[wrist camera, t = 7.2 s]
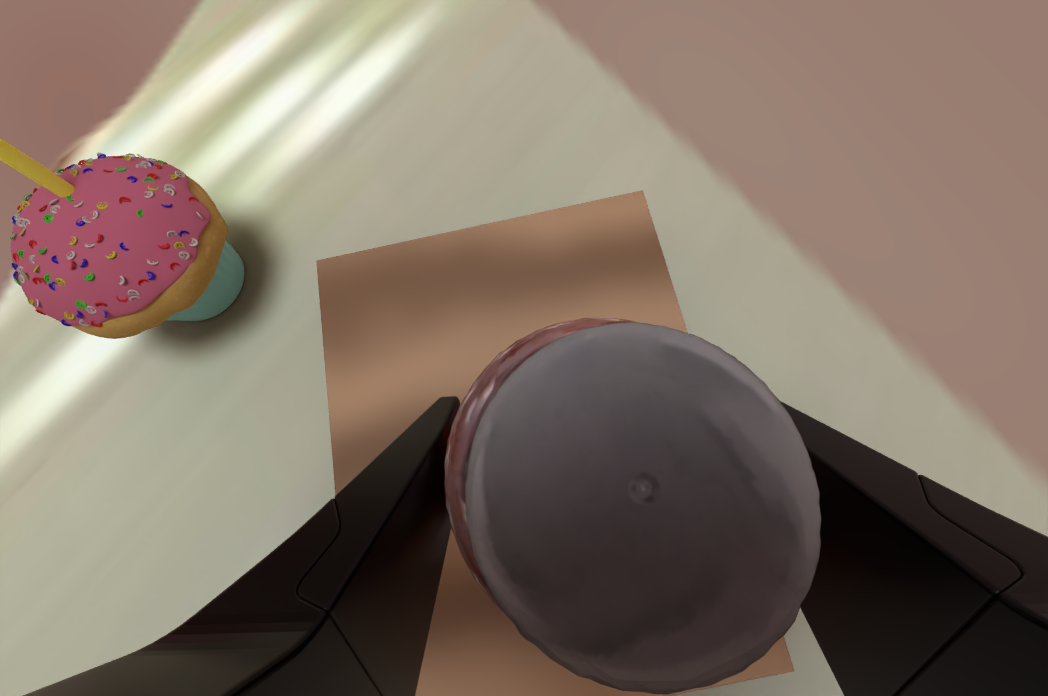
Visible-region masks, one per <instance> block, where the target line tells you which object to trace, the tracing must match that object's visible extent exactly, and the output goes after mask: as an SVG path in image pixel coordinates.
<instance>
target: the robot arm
mask: <svg viewBox="0 0 1048 696" xmlns="http://www.w3.org/2000/svg"><path fill="white" fill-rule="evenodd" d="M780 402H781V401H780ZM781 403H782V405H783V406H784V408H785V409H786V410H787V412H788V413H789V415H790V416H791V418H792V420H793V422H794V424H795V426H796V428H797V429H798V431H799V433H800V435H801V437H802V440H803V442H804V445H805V447H806V449H807V451H808V454H809V457H810V460H811V464H812V468H813V470H814V473H815V476H816V481H817V485H818V489H819V505H820V513H821V526H820V539H821V547H820V554H819V560H818V564H817V567H816V571H815V574H814V577H813V580H812V583H811V586H810V589H809V591H808V593H807V595H806V597H805V599H804V600H803V602H802V603H801V605H800V608H801V610H802V612H803V614H804V616H805V618H806V620H807V622H808V624H809V626H810V628H811V630H812V632H813V634H814V636H815V638H816V640H817V642H818V644H819V646H820V648H821V650H822V652H823V654H824V656H825V658H826V660H827V662H828V664H829V666H830V668H831V670H832V672H833V674H834V676H835V678H836V680H837V682H838V684H839V686H840V688H841V690H842V692H843V694H844V696H1048V537H1047V536H1045V535H1043V534H1041V533H1039V532H1036V531H1034V530H1032V529H1030V528H1028V527H1026V526H1024V525H1022V524H1019V523H1017V522H1015V521H1013V520H1011V519H1009V518H1007V517H1005V516H1003V515H1001V514H998V513H996V512H994V511H992V510H990V509H988V508H986V507H984V506H982V505H980V504H978V503H976V502H974V501H972V500H970V499H968V498H966V497H964V496H962V495H960V494H958V493H956V492H954V491H952V490H950V489H948V488H946V487H944V486H942V485H941V484H939V483H937V482H935V481H933V480H931V479H929V478H927V477H925V476H923V475H918V474H917V472H915V471H914V470H912V469H910V468H908V467H906V466H904V465H902V464H900V463H898V462H896V461H894V460H892V459H890V458H889V457H887V456H885V455H883V454H881V453H879V452H877V451H875V450H873V449H871V448H869V447H867V446H866V445H864V444H862V443H860V442H858V441H856V440H854V439H852V438H850V437H848V436H846V435H844V434H842V433H841V432H839V431H837V430H835V429H833V428H831V427H829V426H827V425H825V424H823V423H821V422H819V421H817V420H816V419H814V418H812V417H810V416H808V415H806V414H804V413H802V412H800V411H798V410H796V409H794V408H792V407H791V406H789V405H787V404H785V403H783V402H781ZM459 407H460V401H459V398H458V397H457V396H446V397H440V398H439V399H438V400H437V401H435V402H434V403H433V404H432V405H431V406H430V407H429V408H428V409H427V410H426V411H425V412H424V413H423V414H422V415H421V416H419V417H418V418H417V419H416V420H415V421H414V422H413V423H412V424H411V425H410V426H409V427H408V428H407V429H406V430H405V431H404V432H402V433H401V434H400V435H399V436H398V437H397V438H396V439H395V440H394V441H393V442H392V443H391V444H390V445H389V446H388V447H386V448H385V449H384V450H383V451H382V452H381V453H380V454H379V455H378V456H377V457H376V458H375V459H374V460H373V461H372V462H371V463H369V464H368V465H367V466H366V467H365V468H364V469H363V470H362V471H361V472H360V473H359V474H358V475H357V476H356V477H355V478H353V479H352V480H351V481H350V482H349V483H348V484H347V485H346V486H345V487H344V488H343V489H342V490H341V491H340V492H339V493H338V494H336V495H335V499H331V500H330V501H329V502H328V503H327V504H326V505H325V506H324V507H322V508H321V509H320V510H319V511H318V512H317V513H316V514H315V515H314V516H313V517H312V518H310V519H309V520H308V521H307V522H306V523H305V524H304V525H303V526H302V527H300V528H299V529H298V530H297V531H296V532H295V533H294V534H293V535H291V536H290V537H289V538H288V539H287V540H285V541H284V542H283V543H282V544H281V545H279V546H278V547H277V548H276V549H275V550H274V551H272V552H271V553H270V554H269V555H268V556H266V557H265V558H264V559H263V560H261V561H260V562H259V563H258V564H256V565H255V566H254V567H253V568H252V569H250V570H249V571H248V572H247V573H245V574H244V575H243V576H242V577H240V578H239V579H238V580H237V581H235V582H234V583H233V584H232V585H231V586H229V587H228V588H227V589H226V590H224V591H223V592H222V593H221V594H219V595H218V596H217V597H216V598H215V599H213V600H212V601H211V602H210V603H208V604H207V605H206V606H205V607H203V608H202V609H201V610H200V611H198V612H197V613H196V614H195V615H193V616H192V617H191V618H190V619H188V620H187V621H186V622H184V623H183V624H182V625H180V626H179V627H177V628H176V629H174V630H173V631H171V632H170V633H168V634H167V635H165V636H164V637H162V638H160V639H158V640H157V641H155V642H153V643H152V644H150V645H147V646H145V647H143V648H141V649H139V650H137V651H135V652H133V653H131V654H128V655H126V656H123V657H121V658H118V659H116V660H113V661H111V662H108V663H105V664H103V665H100V666H98V667H95V668H93V669H90V670H88V671H85V672H82V673H80V674H77V675H75V676H72V677H70V678H67V679H64V680H62V681H59V682H57V683H54V684H52V685H49V686H46V687H44V688H41V689H39V690H36V691H34V692H31V693H28V694H26V695H23V696H415V694H416V690H417V685H418V680H419V676H420V671H421V666H422V662H423V657H424V652H425V648H426V643H427V638H428V634H429V629H430V624H431V620H432V615H433V611H434V606H435V601H436V597H437V592H438V587H439V583H440V578H441V573H442V569H443V564H444V559H445V555H446V550H447V545H448V541H449V536H450V531H451V526H450V522H449V513H448V510H447V508H446V498H445V457H446V450H447V442H448V438H449V435H450V432H451V427H452V424H453V421H454V418H455V416H456V414H457V412H458V410H459Z"/></svg>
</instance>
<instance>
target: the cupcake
mask: <svg viewBox="0 0 1048 696" xmlns="http://www.w3.org/2000/svg"><path fill="white" fill-rule="evenodd" d="M129 155H132V156H129ZM137 155H138V154H137ZM97 156H98V159H94V160H93V159H92V158H91V159H88V160H81V161H80V162H79V163H78V165H75V164H73V165H71V166H69V167H67V168H65V169H59V170H58V171H57V172H55V174H54V173H53V172H51V171H50V170H48V169H47V168H45V167H44V166H42V165H41V164H39V163H38V162H36V161H35V160H33V159H32V158H30V157H28V156H27V155H25V154H24V153H22V152H21V151H19V150H18V149H16V148H14V147H13V146H11V145H10V144H9V143H7V142H6V141H4V140H2V139H1V138H0V160H1V161H3V162H4V163H6V164H7V165H9V166H10V167H12V168H14V169H15V170H17V171H19V172H20V173H22V174H23V175H25V176H27V177H28V178H30V179H32V180H33V181H35V182H36V183H38V184H40V185H41V187H40V188H39V189H38V190H37V188H35V189H34V190H33V194H27V195H26V196H25V197H24V200H25V202H22V203H21V205H20V206H18V208H17V209H18V212H17V214H16V215H15V216H13V217H12V220H11V222H13V223H14V228H13V232H12V236H11V238H10V239H11V253H12V259H13V263H12V266H13V268H14V269H15V270H16V272H14V274H13V277H14V278H15V282H16V283H18V284H19V285H20V286H21V287H22V289H23V291H24V293H25V295H26V297H27V298H28V302H29V303H30V304H32V305H33V306H34V307H35V308H36V311H37V312H38V313H41V314H44V315H48V316H50V317H52V318H54V319H56V320H58V321H60V322H61V323H62V324H63V325H65V326H73V327H75V328H77V329H79V330H81V331H83V332H86V333H88V334H91V335H95V336H99V337H104V338H113V339H116V338H125V337H130V336H134V335H137V334H139V333H141V332H143V331H145V330H148V329H150V328H153V327H155V326H157V325H159V324H161V323H162V322H164V321H165V320H181V321H201V320H206V319H209V318H212V317H214V316H216V315H218V314H220V313H222V312H223V311H224V310H226V309H227V308H228V307H229V306H230V305H231V304H232V303H233V302H234V301H235V299H236V298H237V296H238V295H239V293H240V291H241V288H242V286H243V282H244V275H245V273H244V265H243V262H242V260H241V258H240V256H239V254H238V253H237V252H236V251H235V250H234V248H233V247H232V246H231V245H230V244H229V243H228V241H227V240H226V237H227V226H226V224H225V222H224V220H223V218H222V217H221V215H220V213H219V212H218V210H217V208H216V206H215V204H214V203H213V201H212V200H211V198H210V197H209V195H208V194H207V193H206V192H205V190H204V189H203V188H202V187H201V186H200V185H199V184H197V183H196V182H195V181H194V180H192V179H191V178H189V177H188V176H186V174H185V173H183V172H182V171H180V170H179V169H177V168H175V167H173V166H171V165H169V164H167V163H166V162H163V161H160V160H158V161H157V160H156V159H150V158H149V159H147V158H144V157H142V156H140V155H138V156H139V157H135V155H134V154H126V155H125V156H108V157H106V155H105V154H102V153H97ZM102 156H103V157H102ZM140 157H141V158H140ZM84 162H85V163H84ZM81 163H82V164H81ZM60 171H63V172H60ZM56 174H57V175H56ZM40 311H41V312H40Z"/></svg>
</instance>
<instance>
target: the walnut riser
mask: <svg viewBox="0 0 1048 696" xmlns="http://www.w3.org/2000/svg"><path fill="white" fill-rule="evenodd" d="M317 272H318V285H319V297H320V309H321V321H322V334H323V346H324V358H325V370H326V383H327V395H328V407H329V419H330V432H331V444H332V456H333V468H334V480H335V493H336V494H338V493H339V492H340V491H341V490H342V489H343V488H344V487H345V486H346V485H347V484H348V483H349V482H350V481H351V480H352V479H353V478H355V477H356V476H357V475H358V474H359V473H360V472H361V471H362V470H363V469H364V468H365V467H366V466H367V465H368V464H369V463H371V462H372V461H373V460H374V459H375V458H376V457H377V456H378V455H379V454H380V453H381V452H382V451H383V450H384V449H385V448H386V447H388V446H389V445H390V444H391V443H392V442H393V441H394V440H395V439H396V438H397V437H398V436H399V435H400V434H401V433H402V432H404V431H405V430H406V429H407V428H408V427H409V426H410V425H411V424H412V423H413V422H414V421H415V420H416V419H417V418H418V417H419V416H421V415H422V414H423V413H424V412H425V411H426V410H427V409H428V408H429V407H430V406H431V405H432V404H433V403H434V402H435V401H437V400H438V399H439V398H440V397H446V396H457V397H458V398H459V401H460V405H461V403H462V401H463V399H464V398H465V396H466V394H467V393H468V391H469V389H470V388H471V386H472V384H473V383H474V382H475V381H476V379H477V378H478V376H479V375H480V374H481V373H482V372H483V371H484V369H485V368H486V367H487V366H488V365H489V364H490V363H491V362H492V361H493V360H494V358H495V357H496V356H497V355H498V354H499V353H500V352H502V351H504V350H506V349H507V348H508V347H509V346H510V345H512V344H513V343H514V342H515V341H517V340H519V339H521V338H523V337H525V336H527V335H529V334H531V333H533V332H535V331H536V330H538V329H542V328H544V327H546V326H550V325H553V324H556V323H562V322H565V321H569V320H576V319H582V318H598V317H610V318H617V319H625V320H631V321H636V322H638V323H647V324H652V325H660V326H666V327H669V328H672V329H676V330H680V331H683V332H685V333H688V332H687V329H686V326H685V323H684V320H683V316H682V313H681V310H680V307H679V304H678V301H677V297H676V294H675V291H674V288H673V285H672V281H671V278H670V275H669V272H668V269H667V266H666V262H665V259H664V256H663V253H662V250H661V247H660V243H659V240H658V237H657V234H656V231H655V228H654V224H653V221H652V218H651V215H650V212H649V209H648V205H647V202H646V199H645V196H644V193H643V190H642V191H638V192H633V193H628V194H624V195H619V196H614V197H610V198H605V199H600V200H596V201H591V202H587V203H582V204H577V205H573V206H568V207H563V208H559V209H554V210H549V211H545V212H540V213H535V214H531V215H526V216H522V217H517V218H512V219H508V220H503V221H498V222H494V223H489V224H484V225H480V226H475V227H471V228H466V229H461V230H457V231H452V232H447V233H443V234H438V235H433V236H429V237H424V238H420V239H415V240H410V241H406V242H401V243H396V244H392V245H387V246H382V247H378V248H373V249H369V250H364V251H359V252H355V253H350V254H345V255H341V256H336V257H331V258H327V259H322V260H318V261H317ZM791 671H794V668H793V665H792V662H791V659H790V656H789V652H788V649H787V646H786V643H785V640H784V637H782V638H780V639H779V640H778V641H777V642H776V643H775V644H774V645H773V646H772V647H771V648H770V650H769V651H768V652H767V653H766V654H765V656H764V657H762V658H760V659H759V660H757V661H756V662H754V663H752V664H751V665H750V666H749V667H748V668H747V669H746V670H744V671H743V672H740V673H738V674H736V675H734V676H731V677H729V678H726V679H724V680H722V681H719V682H717V683H715V684H713V685H710V686H707V687H701V688H695V689H691V690H686V691H682V692H677V693H672V694H651V693H645V692H632V691H621V690H618V689H615V688H611V687H608V686H605V685H602V684H599V683H597V682H595V681H593V680H591V679H587V678H583V677H579V676H577V675H576V674H574V673H572V672H571V671H569V670H567V669H566V668H564V667H563V666H561V665H560V664H558V663H556V662H555V661H553V660H552V659H550V658H549V657H548V656H547V655H546V654H544V653H543V652H542V651H541V650H540V649H539V648H538V647H537V646H536V645H535V644H533V643H531V642H529V641H528V640H526V639H525V638H524V637H523V636H522V635H521V634H520V633H519V631H518V629H517V627H516V625H515V624H514V623H513V622H512V621H511V620H510V619H509V617H508V616H506V615H505V614H504V613H503V612H502V611H501V610H500V609H499V608H497V606H496V605H495V604H494V603H493V602H492V601H491V599H490V598H489V597H488V596H487V595H486V594H485V593H484V592H483V590H482V589H481V587H480V585H479V584H478V583H477V582H476V580H475V579H474V578H473V575H472V573H471V571H470V570H469V568H468V566H467V565H466V563H465V561H464V559H463V557H462V555H461V552H460V550H459V547H458V544H457V542H456V539H455V536H454V534H453V532H452V529H451V531H450V536H449V541H448V545H447V550H446V555H445V559H444V564H443V569H442V573H441V578H440V583H439V587H438V592H437V597H436V601H435V606H434V611H433V615H432V620H431V624H430V629H429V634H428V638H427V643H426V648H425V652H424V657H423V662H422V666H421V671H420V676H419V680H418V685H417V690H416V694H415V696H672V695H677V694H682V693H687V692H692V691H697V690H702V689H707V688H711V687H716V686H721V685H726V684H731V683H736V682H741V681H746V680H751V679H756V678H761V677H766V676H771V675H776V674H781V673H786V672H791Z"/></svg>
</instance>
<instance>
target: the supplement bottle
mask: <svg viewBox="0 0 1048 696" xmlns="http://www.w3.org/2000/svg"><path fill="white" fill-rule="evenodd" d="M445 498H446V508H447V510H448V513H449V522H450V526H451V529H452V532H453V534H454V536H455V539H456V542H457V544H458V547H459V550H460V552H461V555H462V557H463V559H464V561H465V563H466V565H467V566H468V568H469V570H470V571H471V573H472V575H473V578H474V579H475V580H476V582H477V583H478V584H479V585H480V587H481V589H482V590H483V592H484V593H485V594H486V595H487V596H488V597H489V598H490V599H491V601H492V602H493V603H494V604H495V605H496V606H497V608H499V609H500V610H501V611H502V612H503V613H504V614H505V615H506V616H508V617H509V619H510V620H511V621H512V622H513V623H514V624H515V625H516V627H517V629H518V631H519V633H520V634H521V635H522V636H523V637H524V638H525V639H526V640H528V641H529V642H531V643H533V644H535V645H536V646H537V647H538V648H539V649H540V650H541V651H542V652H543V653H544V654H546V655H547V656H548V657H549V658H550V659H552V660H553V661H555V662H556V663H558V664H560V665H561V666H563V667H564V668H566V669H567V670H569V671H571V672H572V673H574V674H576V675H577V676H579V677H583V678H587V679H591V680H593V681H595V682H597V683H599V684H602V685H605V686H608V687H611V688H615V689H618V690H621V691H632V692H645V693H651V694H672V693H677V692H682V691H686V690H691V689H695V688H701V687H707V686H710V685H713V684H715V683H717V682H719V681H722V680H724V679H726V678H729V677H731V676H734V675H736V674H738V673H740V672H743V671H744V670H746V669H747V668H748V667H749V666H750V665H751V664H752V663H754V662H756V661H757V660H759V659H760V658H762V657H764V656H765V654H766V653H767V652H768V651H769V650H770V648H771V647H772V646H773V645H774V644H775V643H776V642H777V641H778V640H779V639H780V638H782V637H783V636H784V635H785V633H786V632H787V631H788V630H789V628H790V627H791V626H792V624H793V623H794V622H795V619H796V617H797V614H798V611H799V608H800V605H801V603H802V602H803V600H804V599H805V597H806V595H807V593H808V591H809V589H810V586H811V583H812V580H813V577H814V574H815V571H816V567H817V564H818V560H819V554H820V547H821V539H820V526H821V513H820V505H819V489H818V485H817V481H816V476H815V473H814V470H813V468H812V464H811V460H810V457H809V454H808V451H807V449H806V447H805V445H804V442H803V440H802V437H801V435H800V433H799V431H798V429H797V428H796V426H795V424H794V422H793V420H792V418H791V416H790V415H789V413H788V412H787V410H786V409H785V408H784V406H783V405H782V403H781V402H780V401H779V400H778V398H777V397H776V396H775V395H774V394H773V393H772V392H771V391H770V389H769V388H768V387H767V385H766V384H765V383H764V382H763V381H762V380H761V379H760V378H758V377H757V376H756V375H755V374H754V373H753V372H752V371H751V370H750V369H749V368H748V367H747V366H745V365H744V364H743V363H741V362H740V361H738V360H737V359H736V358H735V357H734V356H732V355H730V354H728V353H726V352H725V351H723V350H722V349H721V348H720V347H718V346H716V345H713V344H711V343H709V342H707V341H705V340H704V339H702V338H700V337H697V336H695V335H692V334H688V333H685V332H683V331H680V330H676V329H672V328H669V327H666V326H660V325H652V324H647V323H638V322H636V321H631V320H625V319H617V318H610V317H598V318H582V319H576V320H569V321H565V322H562V323H556V324H553V325H550V326H546V327H544V328H542V329H538V330H536V331H535V332H533V333H531V334H529V335H527V336H525V337H523V338H521V339H519V340H517V341H515V342H514V343H513V344H512V345H510V346H509V347H508V348H507V349H506V350H504V351H502V352H500V353H499V354H498V355H497V356H496V357H495V358H494V360H493V361H492V362H491V363H490V364H489V365H488V366H487V367H486V368H485V369H484V371H483V372H482V373H481V374H480V375H479V376H478V378H477V379H476V381H475V382H474V383H473V384H472V386H471V388H470V389H469V391H468V393H467V394H466V396H465V398H464V399H463V401H462V403H461V405H460V407H459V410H458V412H457V414H456V416H455V418H454V421H453V424H452V427H451V432H450V435H449V438H448V442H447V450H446V457H445Z"/></svg>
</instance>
